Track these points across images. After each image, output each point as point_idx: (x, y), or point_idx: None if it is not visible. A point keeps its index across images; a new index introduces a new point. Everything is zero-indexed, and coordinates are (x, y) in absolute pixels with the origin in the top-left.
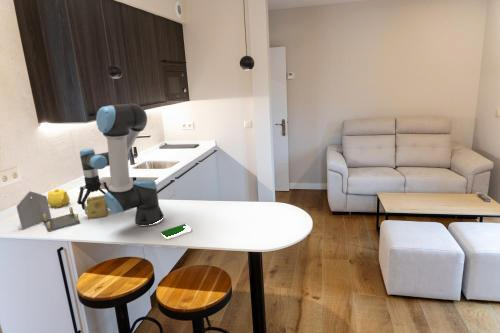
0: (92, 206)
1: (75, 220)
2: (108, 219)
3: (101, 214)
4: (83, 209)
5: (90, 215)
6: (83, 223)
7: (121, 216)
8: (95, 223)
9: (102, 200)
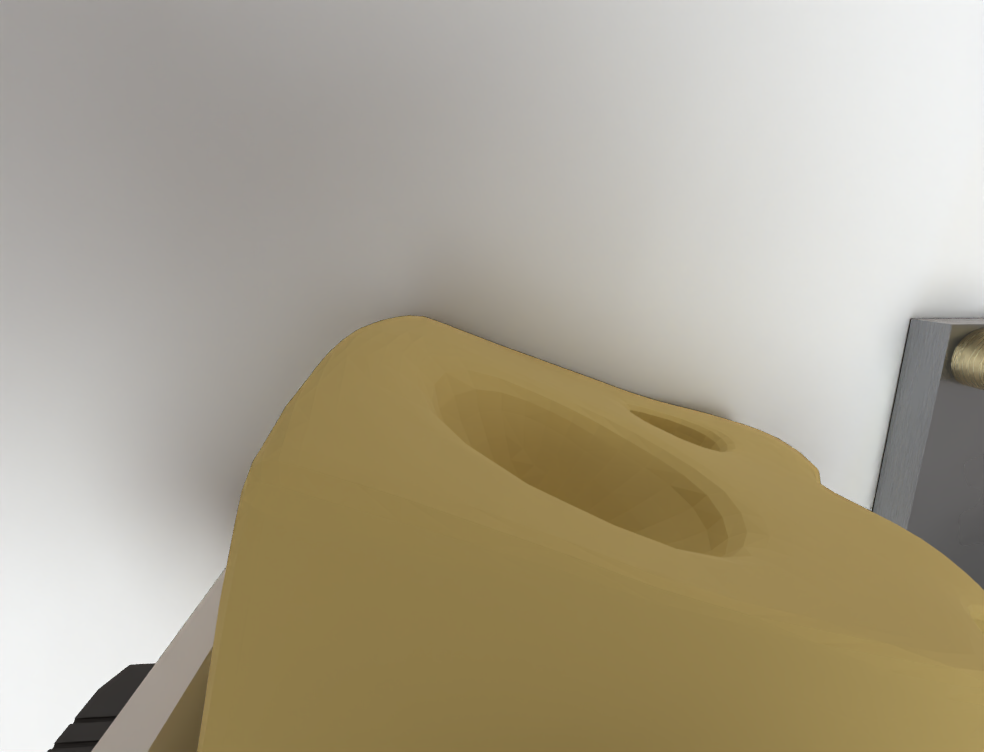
0: (796, 519)
1: (981, 434)
2: (428, 73)
3: (507, 352)
4: None
5: (727, 426)
6: (875, 264)
7: (116, 14)
8: (717, 58)
9: (392, 469)
